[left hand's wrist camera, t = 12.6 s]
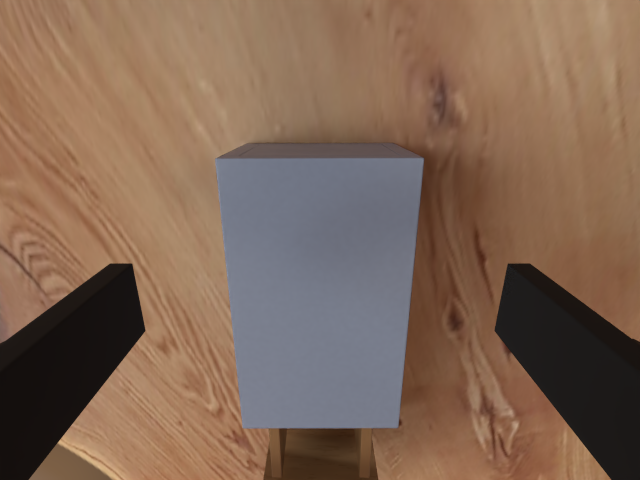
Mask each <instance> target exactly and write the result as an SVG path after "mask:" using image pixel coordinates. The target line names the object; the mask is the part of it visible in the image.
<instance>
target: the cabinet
mask: <svg viewBox="0 0 640 480" xmlns="http://www.w3.org/2000/svg"><path fill="white" fill-rule="evenodd" d="M215 161H216V171H217V181H218V191H219V200H220V210H221V220H222V230H223V239H224V249H225V259H226V269H227V278H228V288H229V298H230V308H231V317H232V327H233V337H234V347H235V356H236V366H237V376H238V386H239V395H240V405H241V415H242V425H243V428H398V426H399V416H400V405H401V395H402V385H403V374H404V364H405V353H406V343H407V333H408V322H409V312H410V302H411V291H412V281H413V271H414V260H415V250H416V240H417V229H418V219H419V208H420V198H421V188H422V177H423V167H424V158H423V157H421V156H419V155H417V154H415V153H413V152H411V151H409V150H407V149H404V148H402V147H400V146H398V145H396V144H394V143H247V144H245V145H243V146H240V147H238V148H236V149H234V150H232V151H230V152H228V153H226V154H224V155H222V156H220V157H218V158H216V159H215Z"/></svg>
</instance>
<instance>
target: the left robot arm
mask: <svg viewBox="0 0 640 480" xmlns="http://www.w3.org/2000/svg"><path fill="white" fill-rule="evenodd" d="M144 332H145V326H144V321H143V316H142V311H141V306H140V301H139V296H138V291H137V286H136V281H135V276H134V270H133V265H132V264H109V265H108V266H106V267H105V268H104V269H102V270H101V271H100V272H98V273H97V274H95V275H94V276H93V277H91V278H90V279H89V280H87V281H86V282H85V283H83V284H82V285H81V286H79V287H78V288H77V289H75V290H74V291H73V292H71V293H70V294H68V295H67V296H66V297H64V298H63V299H62V300H60V301H59V302H58V303H56V304H55V305H54V306H52V307H51V308H50V309H48V310H47V311H45V312H44V313H43V314H41V315H40V316H39V317H37V318H36V319H35V320H33V321H32V322H31V323H29V324H28V325H27V326H25V327H24V328H22V329H21V330H20V331H18V332H17V333H16V334H14V335H13V336H12V337H10V338H9V339H8V340H6V341H4V342H2V343H0V480H29V478H30V477H31V476H32V475H33V473H34V472H35V471H36V470H37V468H38V467H39V466H40V464H41V463H42V462H43V461H44V459H45V458H46V457H47V455H48V454H49V453H50V452H51V450H52V449H53V448H54V447H55V445H56V444H57V443H58V441H59V440H60V439H61V438H62V436H63V435H64V434H65V433H66V431H67V430H68V429H69V427H70V426H71V425H72V424H73V422H74V421H75V420H76V419H77V417H78V416H79V415H80V413H81V412H82V411H83V410H84V408H85V407H86V406H87V405H88V403H89V402H90V401H91V399H92V398H93V397H94V396H95V394H96V393H97V392H98V391H99V389H100V388H101V387H102V385H103V384H104V383H105V382H106V380H107V379H108V378H109V377H110V375H111V374H112V373H113V371H114V370H115V369H116V368H117V366H118V365H119V364H120V363H121V361H122V360H123V359H124V357H125V356H126V355H127V354H128V352H129V351H130V350H131V349H132V347H133V346H134V345H135V343H136V342H137V341H138V340H139V338H140V337H141V336H142V335H143V333H144ZM495 332H496V333H497V335H498V336H499V337H500V338H501V340H502V341H503V342H504V343H505V345H506V346H507V347H508V349H509V350H510V351H511V352H512V354H513V355H514V356H515V357H516V359H517V360H518V361H519V363H520V364H521V365H522V366H523V368H524V369H525V370H526V371H527V373H528V374H529V375H530V377H531V378H532V379H533V380H534V382H535V383H536V384H537V385H538V387H539V388H540V389H541V391H542V392H543V393H544V394H545V396H546V397H547V398H548V399H549V401H550V402H551V403H552V405H553V406H554V407H555V408H556V410H557V411H558V412H559V413H560V415H561V416H562V417H563V419H564V420H565V421H566V422H567V424H568V425H569V426H570V427H571V429H572V430H573V431H574V433H575V434H576V435H577V436H578V438H579V439H580V440H581V441H582V443H583V444H584V445H585V447H586V448H587V449H588V450H589V452H590V453H591V454H592V456H593V457H594V458H595V459H596V461H597V462H598V463H599V464H600V466H601V467H602V468H603V470H604V471H605V472H606V473H607V475H608V476H609V477H610V478H611V480H640V342H639V341H637V340H635V339H631V338H630V337H628V336H627V335H626V334H624V333H623V332H622V331H620V330H619V329H618V328H616V327H615V326H613V325H612V324H611V323H609V322H608V321H607V320H605V319H604V318H603V317H601V316H600V315H599V314H597V313H596V312H595V311H593V310H592V309H590V308H589V307H588V306H586V305H585V304H584V303H582V302H581V301H580V300H578V299H577V298H576V297H574V296H573V295H572V294H570V293H569V292H567V291H566V290H565V289H563V288H562V287H561V286H559V285H558V284H557V283H555V282H554V281H553V280H551V279H550V278H549V277H547V276H546V275H545V274H543V273H542V272H540V271H539V270H538V269H536V268H535V267H534V266H532V265H531V264H508V265H507V270H506V276H505V281H504V286H503V291H502V296H501V301H500V306H499V311H498V316H497V321H496V326H495Z"/></svg>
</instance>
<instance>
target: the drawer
mask: <svg viewBox="0 0 640 480" xmlns="http://www.w3.org/2000/svg"><path fill="white" fill-rule="evenodd" d="M372 429H373V428H354V429H287V428H269V439H270V440H269V446H268V453H267V459H266V466H265V472H264V479H263V480H378V475H377V469H376V462H375V456H374V450H373V443H372Z"/></svg>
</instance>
